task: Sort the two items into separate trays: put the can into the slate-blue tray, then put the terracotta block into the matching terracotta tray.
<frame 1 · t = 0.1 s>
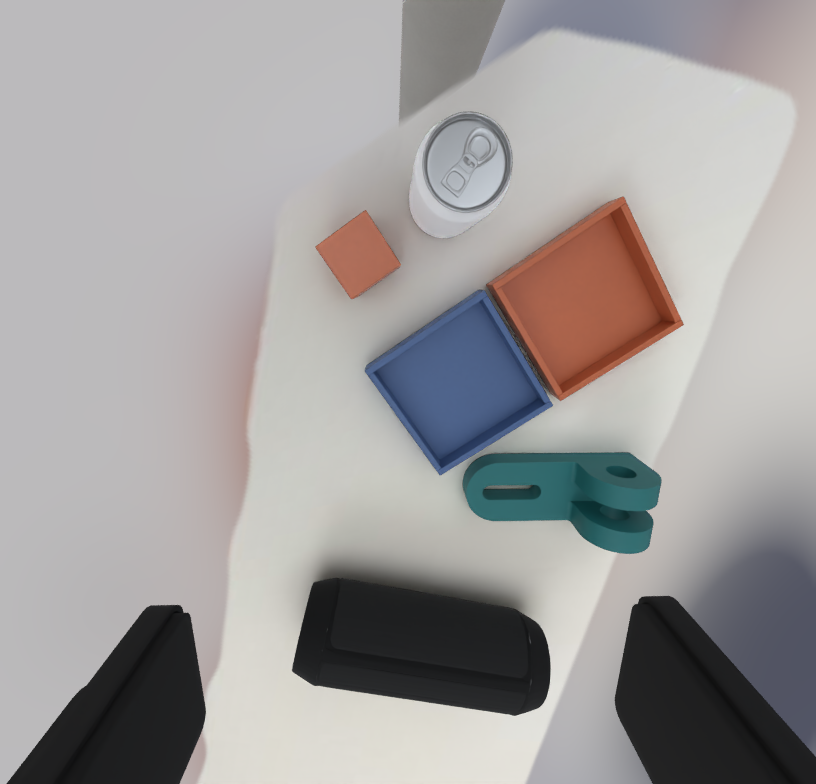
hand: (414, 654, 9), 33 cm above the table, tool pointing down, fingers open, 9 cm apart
block: (362, 259, 37), on the table
terracotta tray: (578, 303, 39), on the table
portable speaker: (418, 605, 48), on the table
bracket: (543, 480, 44), on the table
blue tray: (456, 382, 41), on the table
can: (443, 201, 37), on the table
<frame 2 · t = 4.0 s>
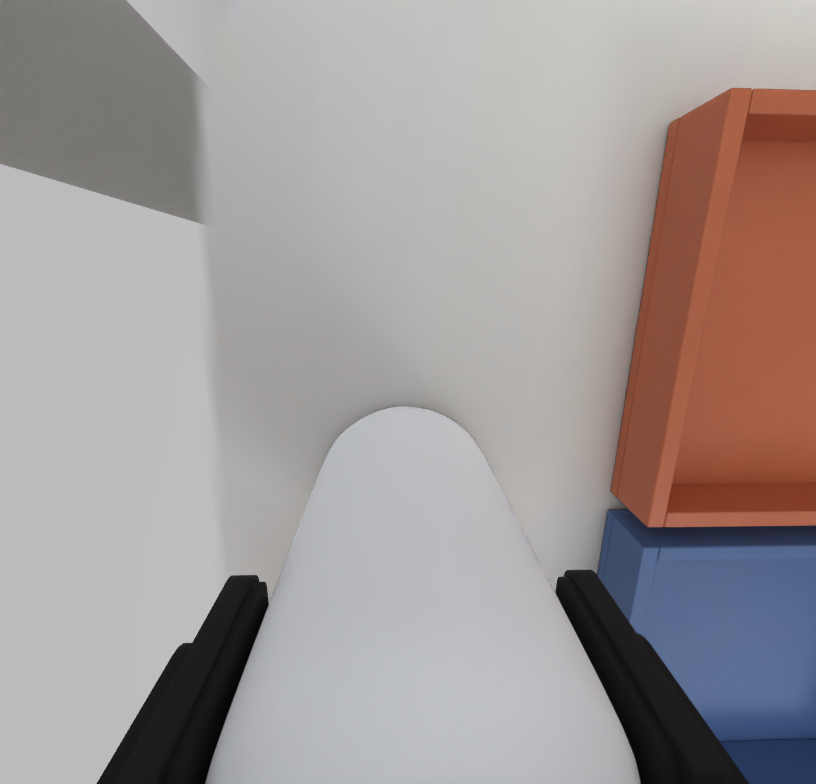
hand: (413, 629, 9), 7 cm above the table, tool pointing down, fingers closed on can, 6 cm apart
terracotta tray: (810, 330, 15), on the table
blue tray: (727, 634, 19), on the table
can: (404, 478, 16), on the table, touching gripper
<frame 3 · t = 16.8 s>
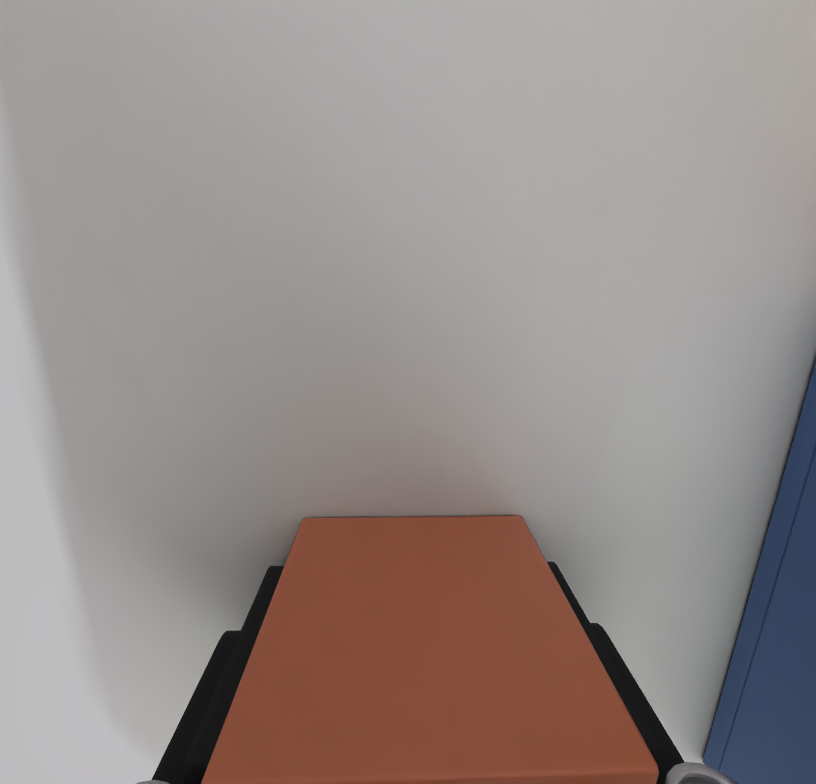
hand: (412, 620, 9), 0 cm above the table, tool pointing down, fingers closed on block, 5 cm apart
block: (411, 606, 10), on the table, touching gripper
when the fingers open (1 cm above the table, at t = 24.4 s): block stays where it is, resting on terracotta tray.
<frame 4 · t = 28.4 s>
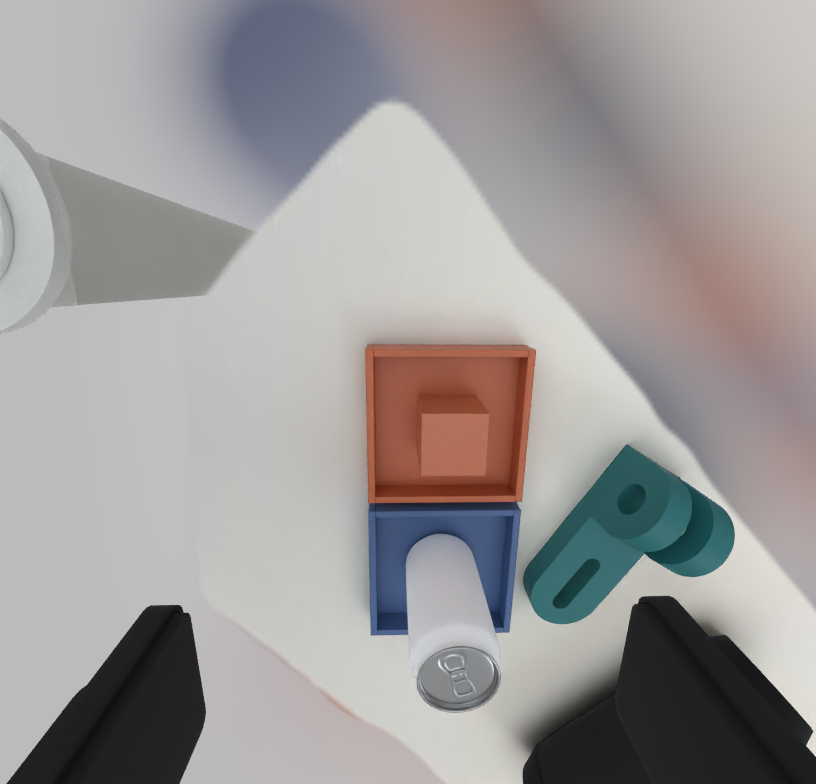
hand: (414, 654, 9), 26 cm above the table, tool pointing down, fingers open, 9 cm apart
block: (446, 422, 35), resting on terracotta tray
terracotta tray: (444, 420, 35), on the table
portable speaker: (622, 696, 45), on the table
bracket: (591, 534, 39), on the table
blue tray: (439, 557, 39), on the table
can: (439, 559, 38), resting on blue tray
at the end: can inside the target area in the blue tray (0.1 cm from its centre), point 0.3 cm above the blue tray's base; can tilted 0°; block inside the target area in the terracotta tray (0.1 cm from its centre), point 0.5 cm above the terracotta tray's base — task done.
